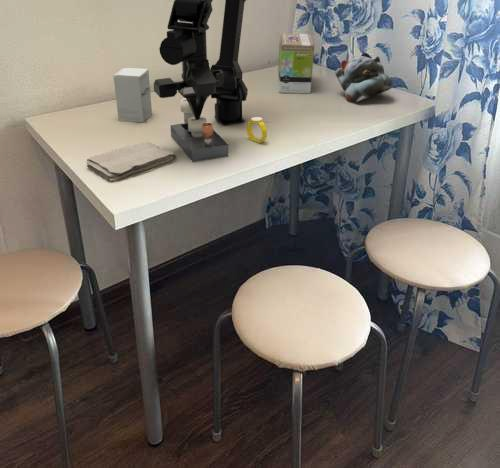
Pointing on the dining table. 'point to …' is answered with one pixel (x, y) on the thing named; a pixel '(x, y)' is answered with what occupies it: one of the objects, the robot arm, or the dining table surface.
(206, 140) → the orange bulb
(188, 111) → the knob
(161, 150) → the washcloth
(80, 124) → the dining table surface
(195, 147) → the dark grey tray
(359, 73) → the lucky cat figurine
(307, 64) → the tea box
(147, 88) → the supplement box
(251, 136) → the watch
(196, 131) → the knob
